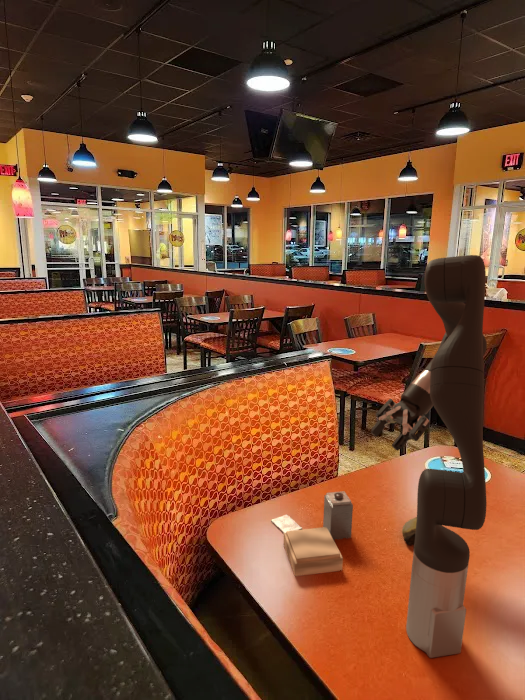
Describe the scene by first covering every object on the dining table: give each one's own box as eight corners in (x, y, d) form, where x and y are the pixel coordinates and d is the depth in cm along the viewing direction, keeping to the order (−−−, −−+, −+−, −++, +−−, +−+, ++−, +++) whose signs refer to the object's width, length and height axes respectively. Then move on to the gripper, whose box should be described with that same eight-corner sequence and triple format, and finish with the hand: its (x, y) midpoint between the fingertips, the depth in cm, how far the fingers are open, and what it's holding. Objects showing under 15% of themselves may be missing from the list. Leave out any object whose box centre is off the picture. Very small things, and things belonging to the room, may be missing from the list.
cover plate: (301, 531, 117) (302, 528, 117) (285, 537, 115) (285, 534, 114) (286, 517, 123) (286, 514, 123) (271, 523, 120) (271, 519, 120)
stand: (342, 570, 102) (343, 554, 101) (294, 576, 100) (295, 560, 99) (326, 539, 113) (327, 525, 112) (283, 544, 111) (283, 530, 110)
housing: (351, 537, 114) (353, 499, 111) (329, 540, 113) (331, 501, 110) (343, 524, 119) (345, 488, 117) (323, 527, 118) (324, 490, 116)
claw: (430, 558, 107) (431, 545, 106) (390, 539, 114) (391, 527, 113) (462, 524, 121) (463, 513, 120) (425, 509, 128) (426, 498, 127)
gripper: (397, 375, 120) (358, 422, 119) (437, 392, 107) (393, 445, 106) (412, 392, 123) (374, 438, 122) (452, 410, 111) (410, 461, 109)
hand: (383, 441), depth 114 cm, fingers open, 8 cm apart
